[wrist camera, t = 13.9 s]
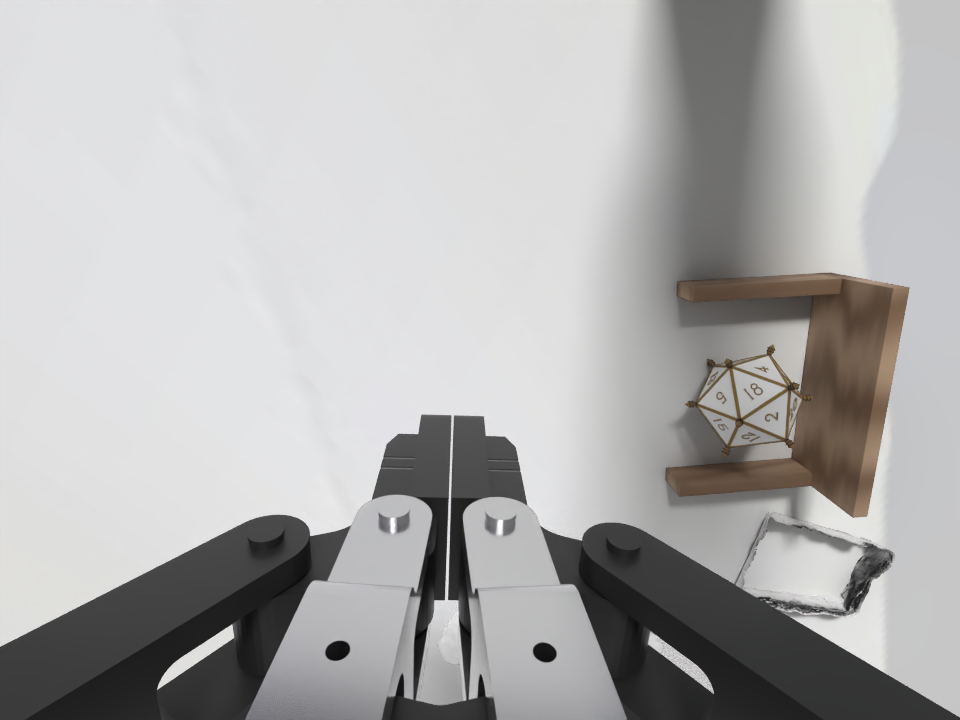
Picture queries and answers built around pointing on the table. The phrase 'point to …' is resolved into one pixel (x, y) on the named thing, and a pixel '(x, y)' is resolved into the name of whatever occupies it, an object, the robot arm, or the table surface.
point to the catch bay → (819, 388)
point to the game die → (750, 402)
